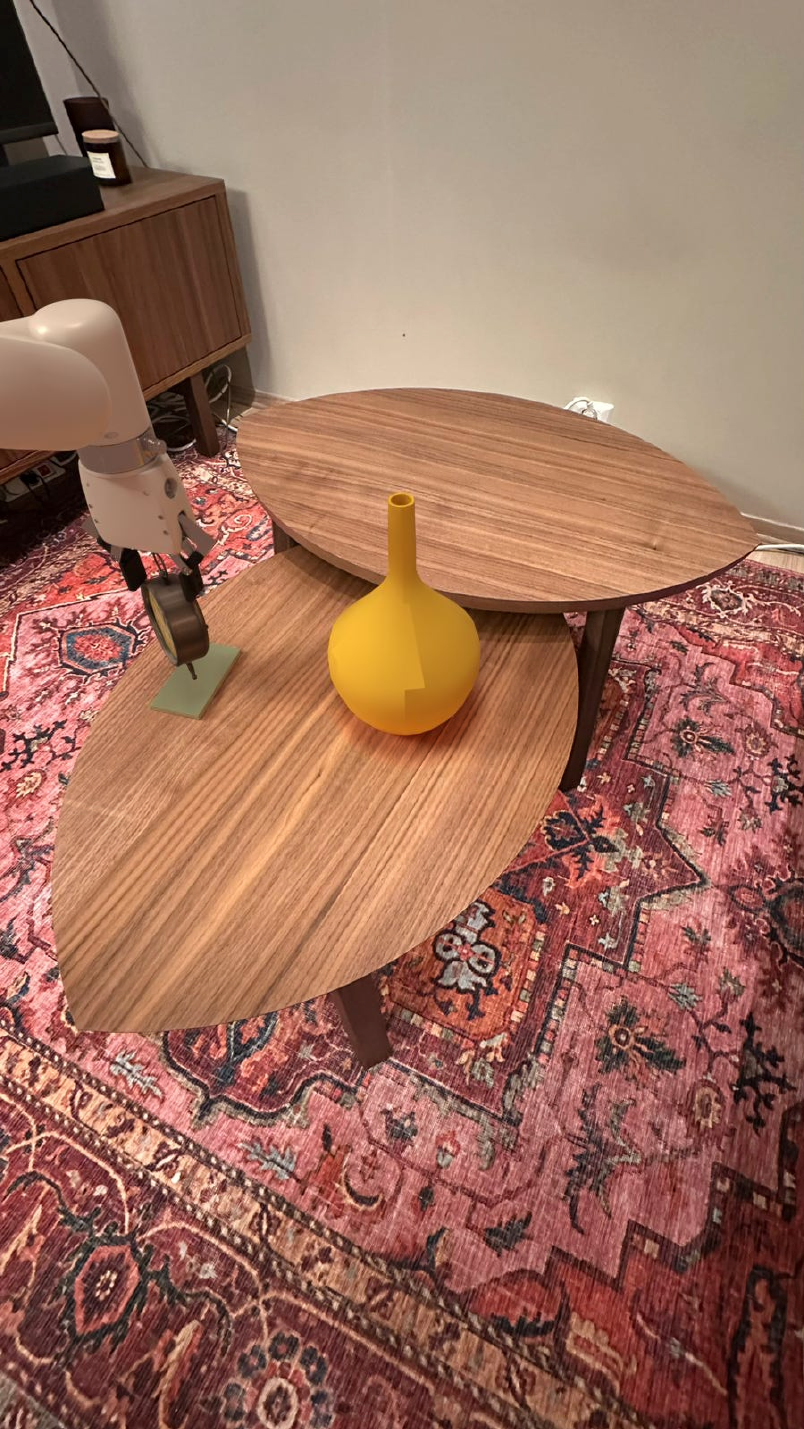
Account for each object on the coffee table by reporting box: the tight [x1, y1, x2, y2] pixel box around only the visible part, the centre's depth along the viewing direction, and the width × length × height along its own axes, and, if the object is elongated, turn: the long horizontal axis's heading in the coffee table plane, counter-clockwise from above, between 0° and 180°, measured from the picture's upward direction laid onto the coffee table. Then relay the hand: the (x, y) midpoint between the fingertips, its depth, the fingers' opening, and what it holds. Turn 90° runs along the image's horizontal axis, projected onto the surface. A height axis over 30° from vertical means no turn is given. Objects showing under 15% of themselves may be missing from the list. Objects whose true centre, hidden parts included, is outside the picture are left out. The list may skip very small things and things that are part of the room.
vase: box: [326, 492, 482, 736], centre depth 78 cm, size 18×18×30 cm
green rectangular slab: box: [149, 642, 243, 721], centre depth 92 cm, size 13×7×1 cm, turn 164°
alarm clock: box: [140, 552, 211, 680], centre depth 83 cm, size 11×5×16 cm, turn 34°
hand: (166, 588), depth 81 cm, fingers closed on alarm clock, 6 cm apart
